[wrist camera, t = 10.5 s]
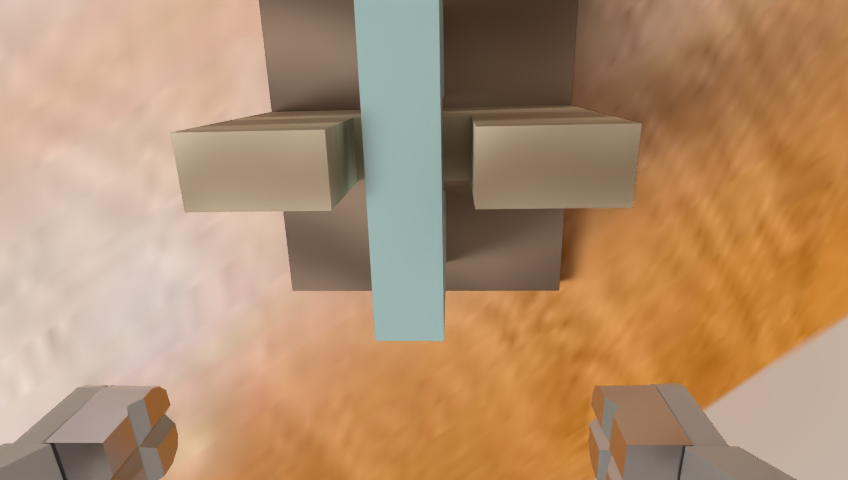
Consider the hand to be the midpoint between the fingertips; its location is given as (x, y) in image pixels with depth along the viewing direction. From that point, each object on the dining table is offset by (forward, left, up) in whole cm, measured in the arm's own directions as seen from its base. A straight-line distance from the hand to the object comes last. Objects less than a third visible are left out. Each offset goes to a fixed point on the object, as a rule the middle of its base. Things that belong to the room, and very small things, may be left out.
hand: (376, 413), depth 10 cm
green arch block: (-3, 0, -16) cm, 16 cm away
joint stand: (-3, 0, -17) cm, 17 cm away
